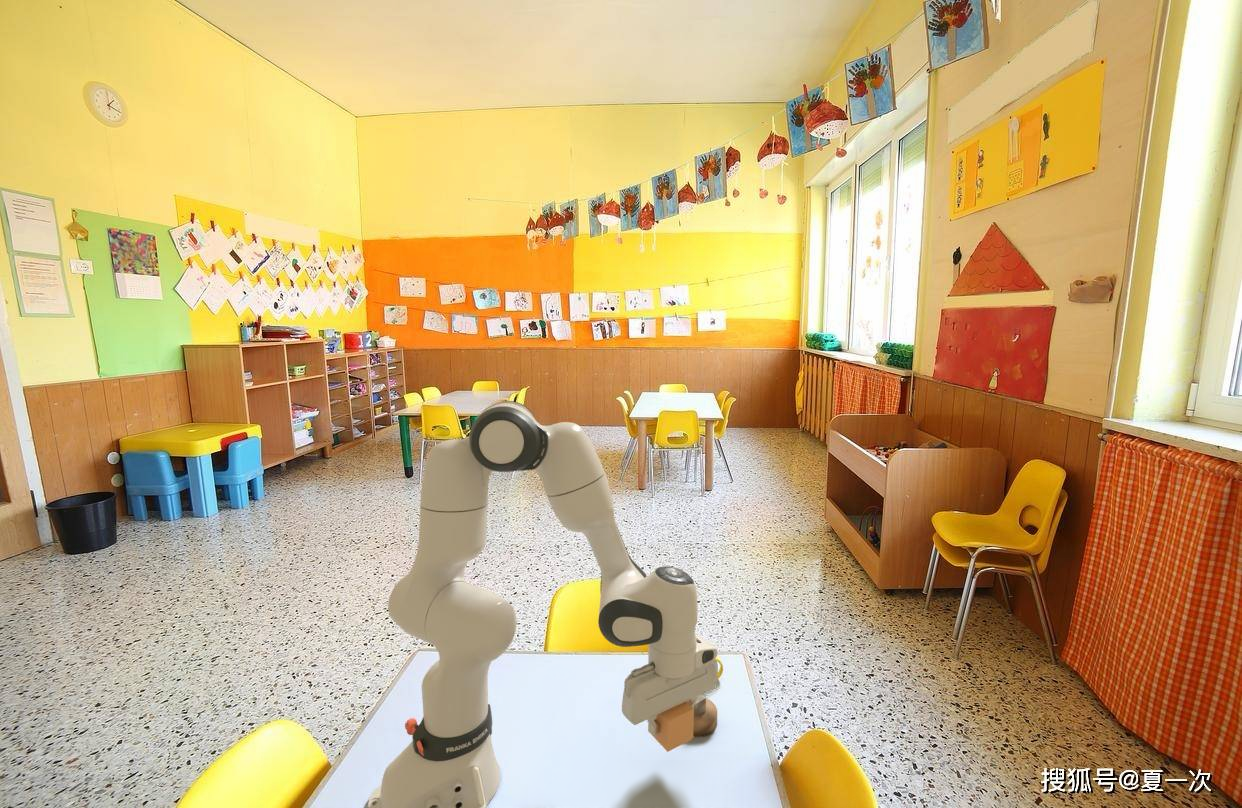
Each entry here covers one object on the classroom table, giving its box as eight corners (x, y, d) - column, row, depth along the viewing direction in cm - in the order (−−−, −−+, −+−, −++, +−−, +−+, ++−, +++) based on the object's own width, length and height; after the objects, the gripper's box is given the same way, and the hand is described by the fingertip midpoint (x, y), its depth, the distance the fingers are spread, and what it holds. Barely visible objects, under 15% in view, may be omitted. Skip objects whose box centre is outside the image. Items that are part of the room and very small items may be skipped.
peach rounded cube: (667, 752, 94) (668, 721, 93) (648, 731, 99) (648, 701, 98) (693, 738, 97) (693, 708, 96) (673, 719, 102) (673, 690, 101)
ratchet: (694, 743, 104) (694, 718, 104) (636, 689, 120) (636, 667, 119) (726, 724, 109) (726, 700, 109) (666, 674, 125) (666, 653, 124)
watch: (721, 674, 125) (721, 651, 124) (723, 682, 122) (724, 658, 122) (696, 675, 125) (696, 652, 124) (698, 682, 122) (698, 659, 121)
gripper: (635, 683, 88) (634, 758, 89) (724, 647, 99) (721, 714, 100) (615, 664, 93) (614, 735, 95) (701, 631, 104) (699, 695, 106)
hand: (670, 724), depth 98 cm, fingers closed on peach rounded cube, 6 cm apart
